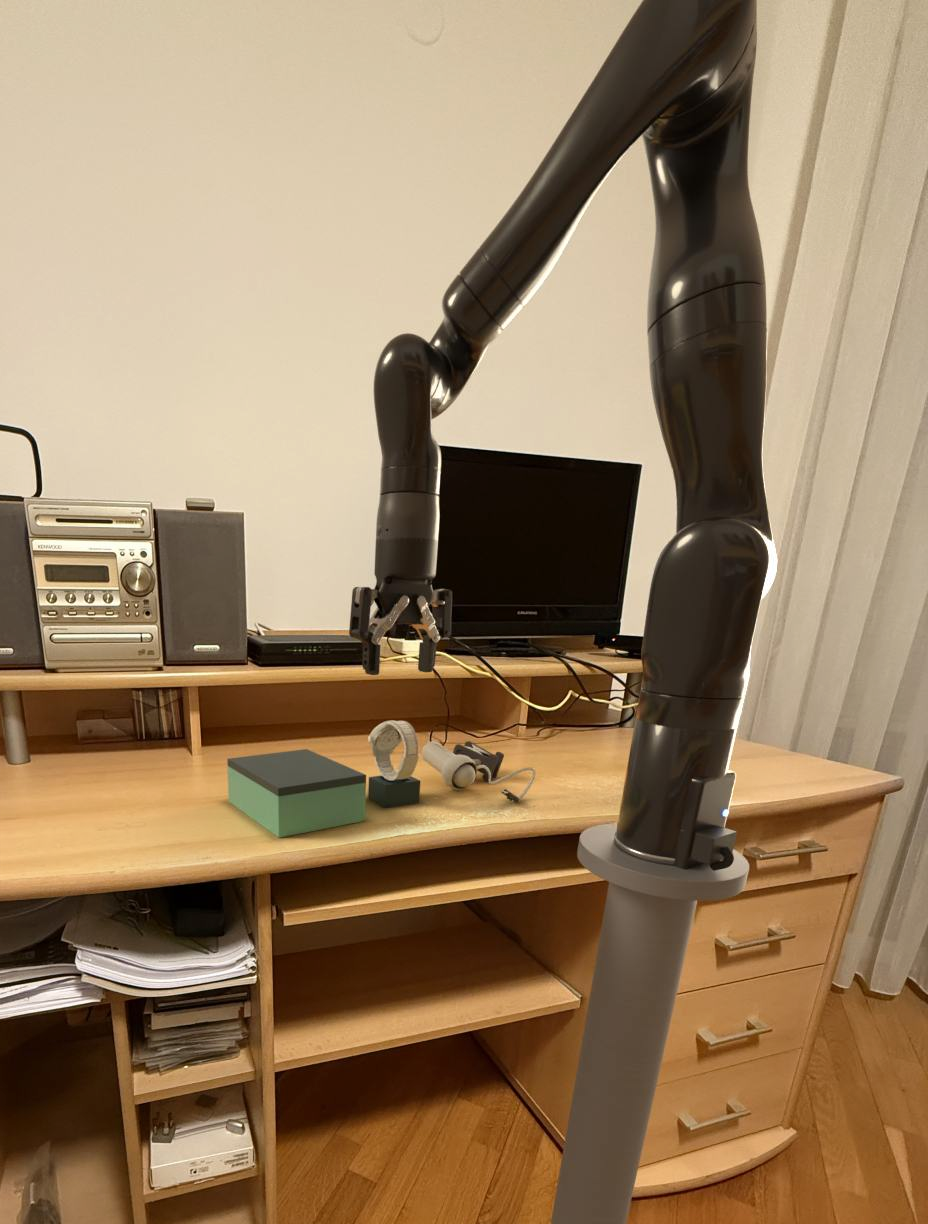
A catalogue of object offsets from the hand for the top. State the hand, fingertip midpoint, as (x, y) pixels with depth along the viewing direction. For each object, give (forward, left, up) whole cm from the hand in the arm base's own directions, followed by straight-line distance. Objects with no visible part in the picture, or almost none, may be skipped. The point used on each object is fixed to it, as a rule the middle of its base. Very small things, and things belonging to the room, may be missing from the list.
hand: (399, 673), depth 82 cm
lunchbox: (+2, +14, -17) cm, 22 cm away
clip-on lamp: (-1, -15, -18) cm, 23 cm away
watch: (0, 0, -18) cm, 18 cm away
